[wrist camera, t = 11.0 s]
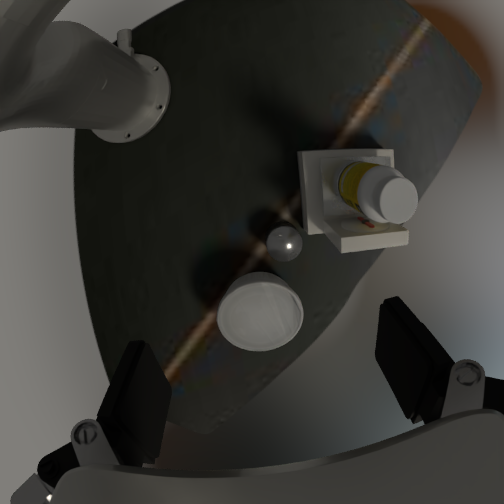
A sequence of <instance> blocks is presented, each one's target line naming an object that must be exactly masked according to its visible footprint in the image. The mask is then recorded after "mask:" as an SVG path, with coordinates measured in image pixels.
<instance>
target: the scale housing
mask: <svg viewBox="0 0 504 504" xmlns="http://www.w3.org/2000/svg"><path fill="white" fill-rule="evenodd" d="M361 156H390V158H391V167H392V168H394V154H393V150H390V149H385V148H358V149H326V150H308V151H297V160H298V170H299V181H300V193H301V205H302V219H303V229H304V230H306V232H307V233H308V235H311V234H320V233H325V235H326V236H327V237H328V238H329V239H330V240H331V241H332V243H333V244H334V245H335V246H336V247H337V249H338V250H339V251H340V252H341V253H347V252H355V251H363V250H371V249H378V248H386V247H394V246H402V245H408V237H409V230H407V229H405V228H404V227H402V226H400V225H399V224H395V223H391V222H386V223H380V222H376V221H373V220H371V219H370V218H368V217H366V216H365V215H363V214H362V213H358V214H347V215H336V216H326V217H324V216H323V213H322V196H321V182H320V169H319V158H332V157H361Z"/></svg>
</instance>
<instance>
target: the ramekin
mask: <svg viewBox="0 0 504 504" xmlns="http://www.w3.org/2000/svg"><path fill="white" fill-rule="evenodd" d="M302 321H303V307H302V304H301V301H300V299H299V297H298V295H297V294H296V293H295V292H294V291H293V290H292V289H291V288H290V287H289V286H288V284H287V283H286V282H285V281H284V280H283V279H281V278H280V277H278V276H276V275H274V274H272V273H268V272H252V273H248V274H246V275H243V276H241V277H239V278H238V279H236V280H235V281H234V282H233V283H232V285H231V286H230V287H229V289H228V290H227V292H226V294H225V295H224V296H223V298H222V299H221V301H220V304H219V306H218V310H217V323H218V327H219V329H220V331H221V333H222V334H223V336H224V337H225V338H226V339H227V340H228V341H229V342H230V343H232V344H233V345H235V346H237V347H239V348H242V349H246V350H250V351H267V350H271V349H275V348H278V347H280V346H282V345H284V344H286V343H287V342H289V341H290V340H291V339H292V338H293V337H294V336H295V335H296V334H297V332H298V331H299V329H300V327H301V325H302Z"/></svg>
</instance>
